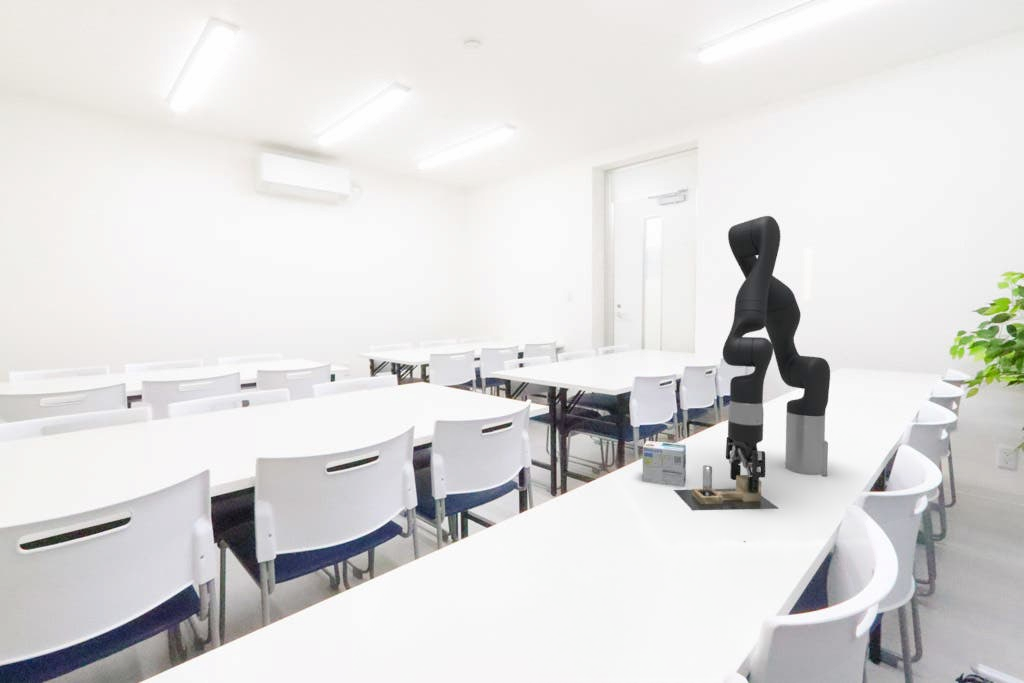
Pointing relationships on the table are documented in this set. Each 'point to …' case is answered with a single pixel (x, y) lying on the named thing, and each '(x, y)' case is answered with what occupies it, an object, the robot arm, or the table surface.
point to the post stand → (727, 504)
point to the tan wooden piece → (730, 493)
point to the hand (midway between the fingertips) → (743, 485)
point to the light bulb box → (664, 463)
